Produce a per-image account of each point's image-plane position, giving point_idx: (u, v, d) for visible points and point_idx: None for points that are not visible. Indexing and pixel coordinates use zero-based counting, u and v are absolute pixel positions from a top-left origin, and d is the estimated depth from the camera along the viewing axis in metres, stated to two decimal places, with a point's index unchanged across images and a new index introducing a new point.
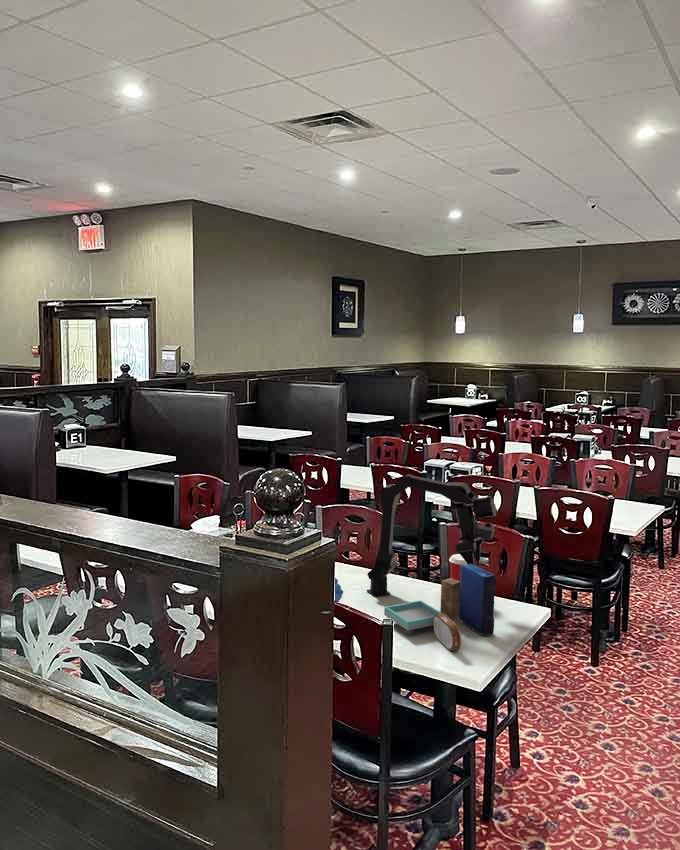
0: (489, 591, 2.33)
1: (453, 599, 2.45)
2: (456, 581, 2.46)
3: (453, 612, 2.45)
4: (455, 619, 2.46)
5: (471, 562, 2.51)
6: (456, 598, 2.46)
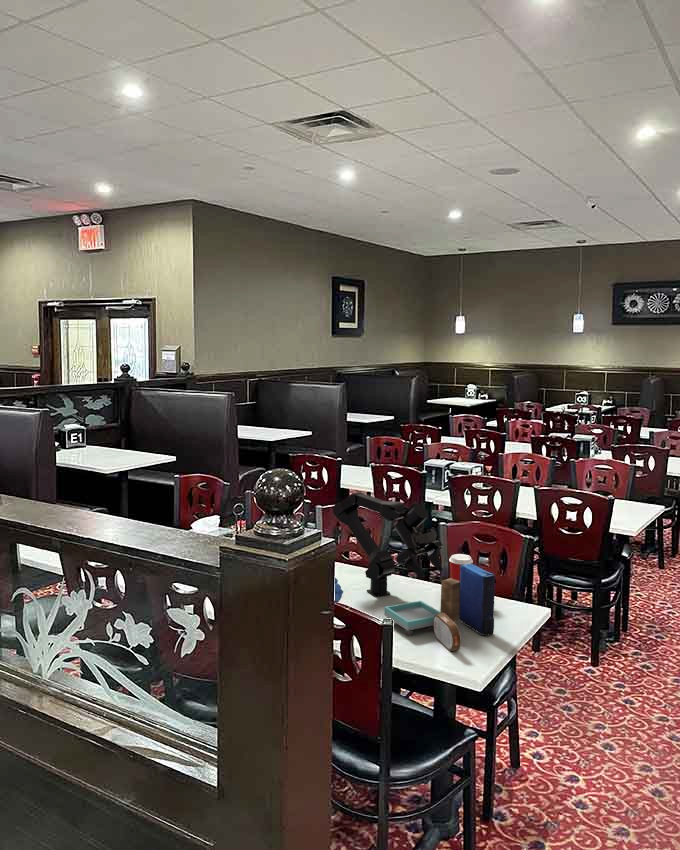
0: (489, 591, 2.33)
1: (453, 599, 2.45)
2: (456, 581, 2.46)
3: (453, 612, 2.45)
4: (455, 619, 2.46)
5: (418, 570, 2.49)
6: (456, 598, 2.46)
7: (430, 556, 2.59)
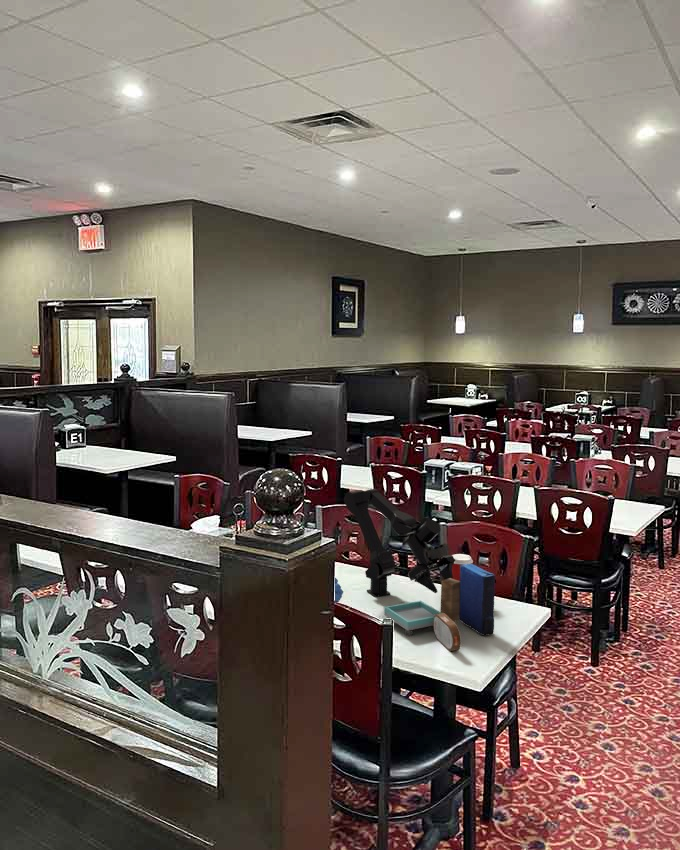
0: (489, 591, 2.33)
1: (453, 599, 2.45)
2: (456, 581, 2.46)
3: (453, 612, 2.45)
4: (455, 619, 2.46)
5: (431, 586, 2.45)
6: (456, 598, 2.46)
7: (443, 571, 2.55)
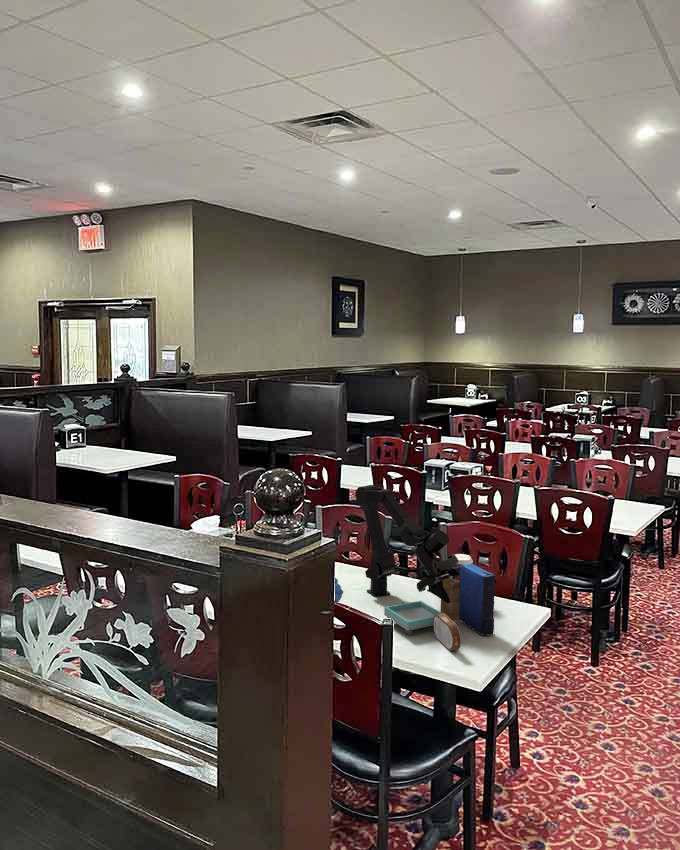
0: (489, 591, 2.33)
1: (454, 599, 2.45)
2: (456, 581, 2.46)
3: (453, 612, 2.45)
4: (455, 619, 2.46)
5: (444, 596, 2.45)
6: (456, 598, 2.46)
7: None
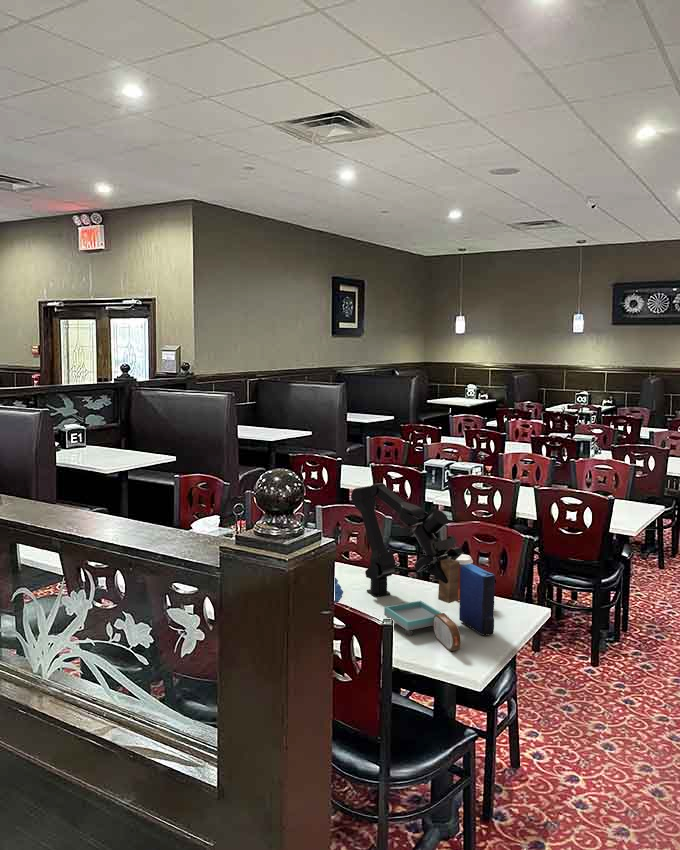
0: (489, 591, 2.33)
1: (452, 580, 2.43)
2: (454, 561, 2.44)
3: (451, 593, 2.44)
4: (453, 600, 2.45)
5: (442, 577, 2.43)
6: (454, 578, 2.44)
7: None
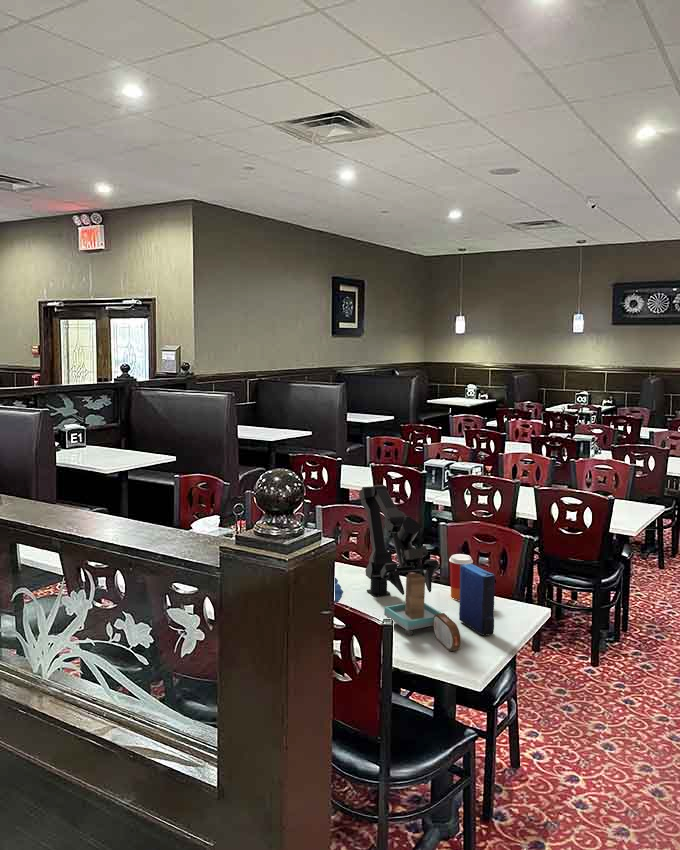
0: (489, 591, 2.33)
1: (414, 595, 2.38)
2: (420, 577, 2.39)
3: (414, 608, 2.38)
4: (417, 616, 2.39)
5: (399, 587, 2.38)
6: (418, 594, 2.38)
7: (425, 575, 2.45)
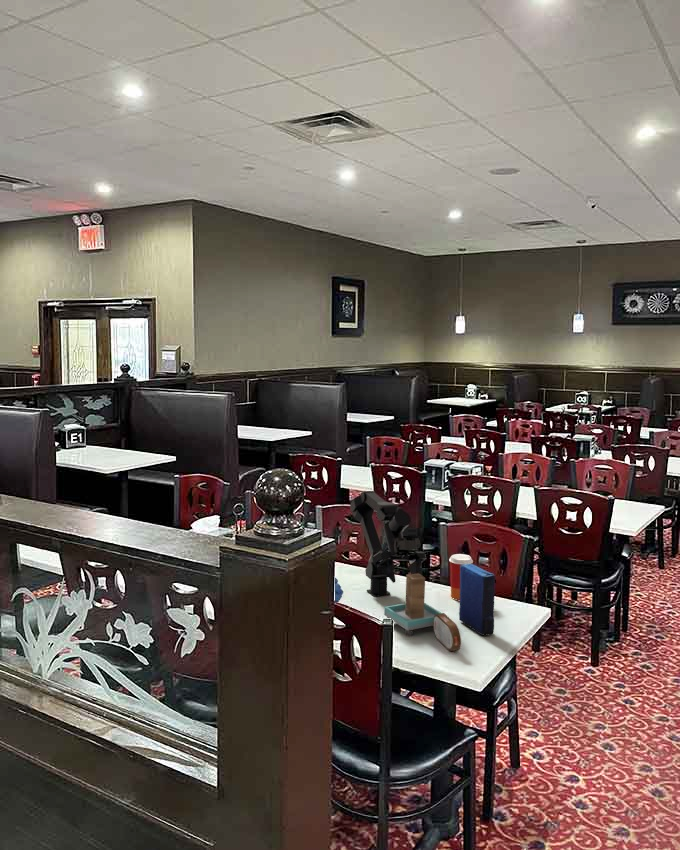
0: (489, 591, 2.33)
1: (414, 595, 2.38)
2: (420, 577, 2.39)
3: (414, 608, 2.38)
4: (417, 616, 2.39)
5: (391, 575, 2.47)
6: (418, 594, 2.38)
7: (411, 565, 2.55)
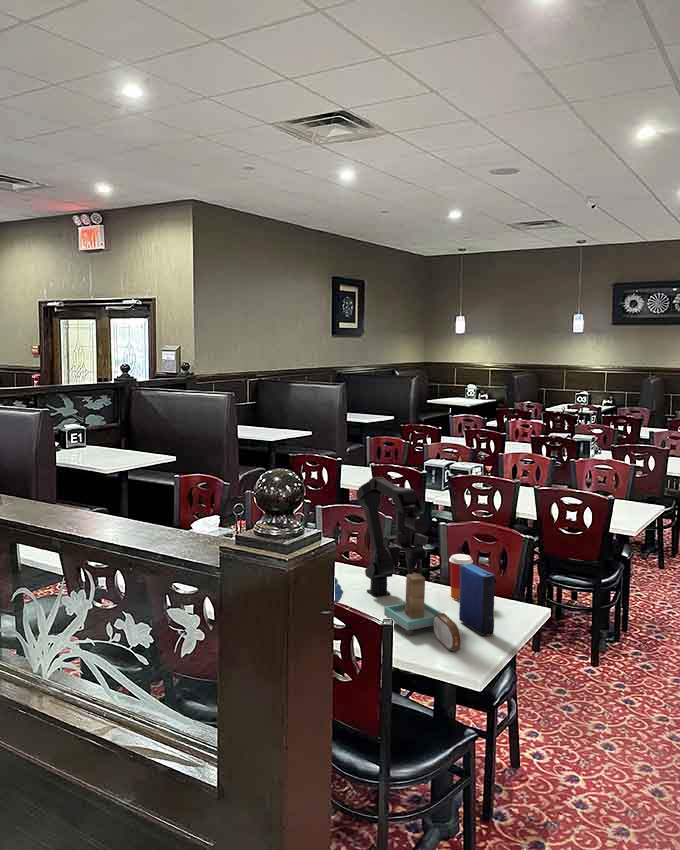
0: (489, 591, 2.33)
1: (414, 595, 2.38)
2: (420, 577, 2.39)
3: (414, 608, 2.38)
4: (417, 616, 2.39)
5: (413, 569, 2.50)
6: (418, 594, 2.38)
7: (393, 549, 2.59)
